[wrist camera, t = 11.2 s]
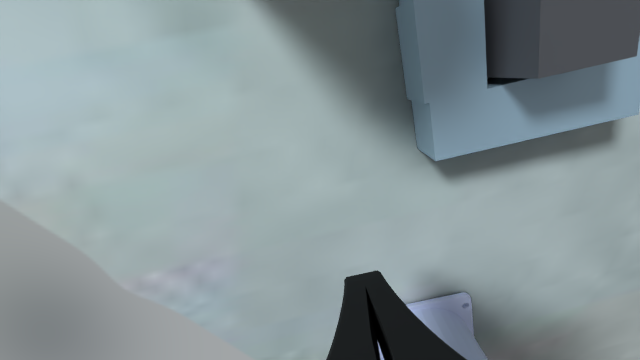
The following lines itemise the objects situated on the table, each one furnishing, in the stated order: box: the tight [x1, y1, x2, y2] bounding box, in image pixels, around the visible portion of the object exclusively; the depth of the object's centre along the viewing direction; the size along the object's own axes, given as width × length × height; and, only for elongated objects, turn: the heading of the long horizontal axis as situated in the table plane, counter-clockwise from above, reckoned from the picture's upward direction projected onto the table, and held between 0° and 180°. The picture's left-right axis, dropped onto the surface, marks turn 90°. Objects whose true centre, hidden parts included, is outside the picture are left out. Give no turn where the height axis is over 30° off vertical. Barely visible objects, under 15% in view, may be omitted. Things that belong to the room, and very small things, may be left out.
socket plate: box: [395, 0, 640, 161], centre depth 16 cm, size 12×12×3 cm
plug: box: [484, 0, 640, 79], centre depth 14 cm, size 4×4×6 cm
